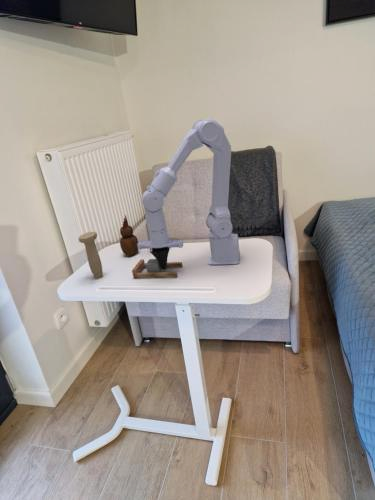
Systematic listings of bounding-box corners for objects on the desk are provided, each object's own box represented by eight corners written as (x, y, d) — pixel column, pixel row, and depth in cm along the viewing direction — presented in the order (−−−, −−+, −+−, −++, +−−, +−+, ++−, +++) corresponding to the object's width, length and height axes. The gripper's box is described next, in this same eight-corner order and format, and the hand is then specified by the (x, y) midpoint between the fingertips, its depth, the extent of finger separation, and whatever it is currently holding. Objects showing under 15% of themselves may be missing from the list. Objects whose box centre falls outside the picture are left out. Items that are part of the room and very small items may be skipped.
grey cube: (163, 269, 109) (160, 258, 107) (159, 275, 105) (157, 263, 104) (151, 269, 110) (149, 259, 108) (148, 275, 106) (145, 264, 104)
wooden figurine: (132, 249, 129) (124, 213, 124) (142, 251, 126) (135, 214, 120) (119, 256, 124) (111, 219, 119) (130, 258, 121) (122, 220, 115)
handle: (87, 280, 108) (75, 239, 103) (97, 272, 114) (86, 231, 108) (99, 281, 107) (88, 238, 101) (109, 272, 112) (99, 231, 107)
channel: (182, 266, 109) (181, 257, 108) (176, 277, 102) (175, 269, 101) (142, 267, 112) (140, 259, 111) (133, 278, 105) (131, 270, 104)
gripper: (182, 223, 103) (188, 262, 108) (139, 225, 106) (147, 263, 111) (177, 231, 96) (183, 272, 101) (131, 233, 100) (140, 273, 105)
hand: (164, 268), depth 106 cm, fingers closed
